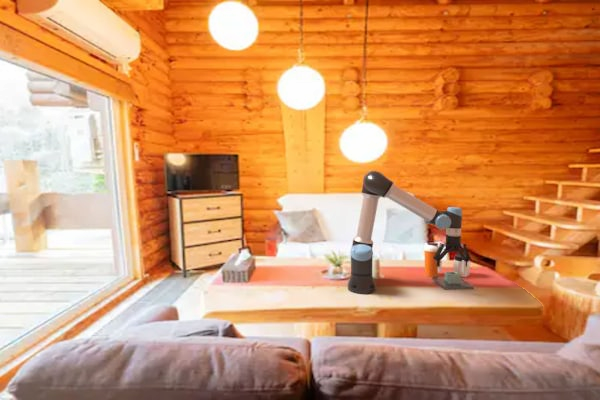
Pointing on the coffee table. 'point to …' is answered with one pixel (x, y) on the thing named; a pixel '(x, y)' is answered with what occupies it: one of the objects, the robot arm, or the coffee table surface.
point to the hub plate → (447, 286)
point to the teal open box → (452, 277)
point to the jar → (460, 266)
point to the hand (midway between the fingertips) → (451, 272)
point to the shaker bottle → (430, 259)
